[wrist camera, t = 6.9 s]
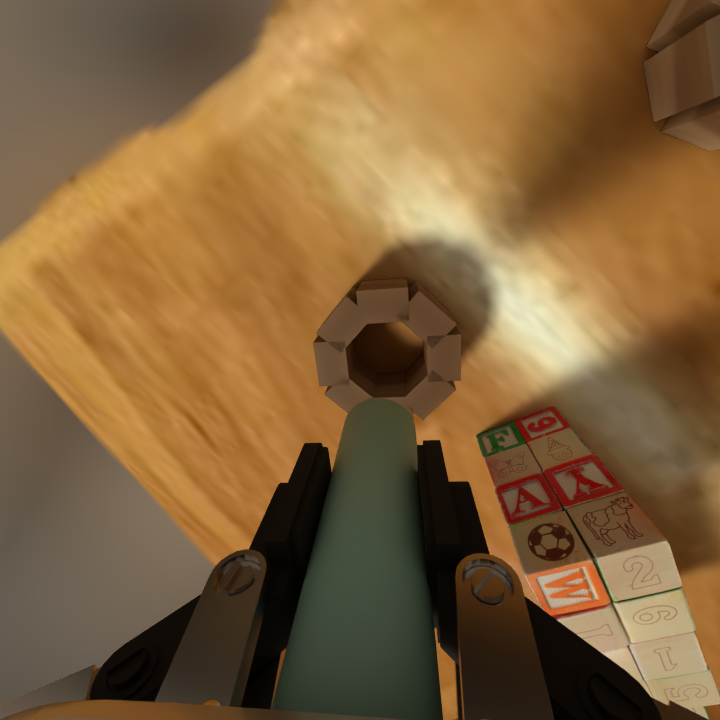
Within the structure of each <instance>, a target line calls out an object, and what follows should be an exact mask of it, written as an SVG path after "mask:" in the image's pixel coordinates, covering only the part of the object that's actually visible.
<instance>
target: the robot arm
mask: <svg viewBox="0 0 720 720" xmlns="http://www.w3.org/2000/svg"><path fill="white" fill-rule="evenodd" d="M417 461H418V479H419V490H420V501H421V513H422V524H423V535H424V547H425V558H426V569H427V581H428V584H429V587H430V590H431V599H432V610H433V620H434V628H437V636H438V643H440V646H441V648H442V649H443V650H444V651H445V652H446V653H447V654H448V655H449V656H450V657H451V658H452V659H453V660H454V661H455V683H456V703H457V720H709V719H707V718H705V717H703V716H701V715H699V714H697V713H695V712H693V711H691V710H689V709H687V708H685V707H683V706H681V705H679V704H677V703H675V702H673V701H671V700H669V703H668V705H666V704H664V703H662V702H660V701H658V700H656V699H654V698H652V697H651V696H650V695H649V694H648V693H647V691H646V690H645V689H644V688H643V686H642V685H641V684H640V683H639V682H638V681H637V680H636V679H635V678H634V677H632V676H631V675H630V674H629V673H628V672H627V671H626V670H624V669H623V668H622V667H620V666H619V665H617V664H616V663H615V662H613V661H612V660H611V659H609V658H608V657H607V656H605V655H604V654H602V653H601V652H600V651H598V650H597V649H596V648H594V647H593V646H592V645H590V644H589V643H587V642H586V641H585V640H583V639H582V638H581V637H579V636H578V635H577V634H575V633H574V632H573V631H571V630H570V629H568V628H567V627H566V626H564V625H563V624H562V623H560V622H559V621H558V620H556V619H555V618H553V617H552V616H551V615H549V614H548V613H547V612H545V611H544V610H543V609H541V608H540V607H539V606H537V605H536V604H534V603H533V602H532V601H530V600H529V599H528V598H526V597H525V596H524V593H523V589H522V585H521V582H520V580H519V577H518V575H517V574H516V572H515V571H514V570H513V568H512V567H511V566H510V565H508V564H507V563H506V562H505V561H503V560H502V559H500V558H498V557H495V556H493V555H490V554H489V551H488V547H487V544H486V540H485V537H484V533H483V530H482V526H481V523H480V519H479V516H478V512H477V508H476V505H475V501H474V498H473V494H472V491H471V487H470V484H469V482H448V477H447V472H446V467H445V462H444V457H443V452H442V447H441V442H440V440H429V441H423V445H417ZM331 474H332V472H331V466H330V459H329V452H328V448H327V447H323V446H322V443H305V444H304V446H303V448H302V450H301V453H300V455H299V458H298V460H297V462H296V465H295V467H294V470H293V472H292V474H291V477H290V479H289V482H288V483H280V484H279V485H278V487H277V488H276V491H275V493H274V495H273V497H272V499H271V502H270V504H269V506H268V508H267V510H266V513H265V515H264V517H263V519H262V522H261V524H260V526H259V528H258V530H257V533H256V535H255V537H254V539H253V541H252V544H251V546H250V548H249V549H245V550H240V551H236V552H234V553H232V554H230V555H228V556H227V557H225V558H224V559H222V560H221V561H220V562H219V563H218V564H217V565H216V566H215V567H214V569H213V570H212V572H211V574H210V576H209V578H208V580H207V582H206V585H205V587H204V589H203V591H202V594H201V595H199V596H198V597H196V598H195V599H193V600H192V601H190V602H189V603H187V604H186V605H184V606H182V607H181V608H180V609H178V610H176V611H175V612H173V613H172V614H170V615H169V616H167V617H166V618H164V619H163V620H161V621H159V622H158V623H156V624H155V625H153V626H152V627H150V628H149V629H147V630H146V631H144V632H143V633H141V634H140V635H138V636H137V637H135V638H134V639H132V640H130V641H129V642H127V643H126V644H125V645H123V646H122V647H121V648H119V649H118V650H117V651H116V652H114V653H113V654H112V655H111V657H110V658H109V659H108V660H107V661H106V662H105V663H104V664H103V666H102V667H100V668H98V669H97V667H96V666H95V664H94V665H91V666H89V667H87V668H85V669H82V670H80V671H78V672H75V673H73V674H70V675H68V676H66V677H63V678H61V679H59V680H56V681H54V682H52V683H49V684H47V685H45V686H43V687H40V688H38V689H35V690H33V691H31V692H28V693H26V694H24V695H21V696H19V697H17V698H14V699H12V700H10V701H7V702H5V703H3V704H0V720H404V719H391V718H378V717H365V716H352V715H338V714H325V713H312V712H298V711H285V710H271V706H272V703H273V699H274V695H275V691H276V687H277V683H278V679H279V675H280V672H281V668H282V664H283V660H284V656H285V652H286V648H287V644H288V641H289V637H290V633H291V629H292V625H293V621H294V617H295V613H296V610H297V606H298V602H299V598H300V594H301V590H302V586H303V582H304V579H305V575H306V571H307V567H308V563H309V559H310V555H311V552H312V548H313V544H314V540H315V536H316V532H317V528H318V524H319V521H320V517H321V513H322V509H323V505H324V501H325V497H326V493H327V490H328V486H329V482H330V478H331Z"/></svg>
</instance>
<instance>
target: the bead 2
mask: <svg viewBox="0 0 720 720" xmlns="http://www.w3.org/2000/svg"><path fill="white" fill-rule="evenodd" d="M646 47H647V48H649V49H652V50H654V51H657V52H659V53H657V54H656V55H654V56H653V57H651V58H650V59H648V60H647V61H645V62H644V63H643V66H644V71H645V77H646V82H647V88H648V94H649V99H650V105H651V110H652V116H653V121H654V122H656V121H659V120H661V119H664V118H666V117H669V116H670V117H669V119H668V120H667V122H666V124H665V126H664V127H663V129H662V131H661V132H663V133H665V134H668V135H670V136H673V137H675V138H678V139H680V140H683V141H685V142H688V143H690V144H693V145H695V146H698V147H700V148H703V149H705V150H708V151H713V150H717V149H720V0H671V1H670V3H669V5H668V7H667V8H666V10H665V12H664V14H663V16H662V18H661V20H660V22H659V24H658V25H657V27H656V29H655V31H654V33H653V35H652V37H651V39H650V41H649V42H648V44H647V46H646Z"/></svg>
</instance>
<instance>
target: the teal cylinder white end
mask: <svg viewBox="0 0 720 720" xmlns="http://www.w3.org/2000/svg"><path fill="white" fill-rule="evenodd" d="M271 710H285V711H298V712H312V713H325V714H338V715H352V716H365V717H378V718H391V719H404V720H443V715H442V704H441V694H440V683H439V673H438V662H437V652H436V641H435V631H434V620H433V610H432V599H431V590H430V587H429V584H428V581H427V569H426V558H425V547H424V535H423V524H422V513H421V501H420V490H419V479H418V461H417V442H416V431H415V424H414V421H413V418H412V416H411V415H410V413H409V412H408V411H407V410H406V409H405V408H404V407H403V406H401V405H400V404H398V403H396V402H394V401H392V400H388V399H382V398H375V399H369V400H366V401H363V402H361V403H359V404H357V405H356V406H355V407H354V408H352V410H351V411H350V412H349V413H348V415H347V417H346V420H345V424H344V428H343V431H342V435H341V439H340V443H339V447H338V451H337V455H336V459H335V462H334V466H333V470H332V474H331V478H330V482H329V486H328V490H327V493H326V497H325V501H324V505H323V509H322V513H321V517H320V521H319V524H318V528H317V532H316V536H315V540H314V544H313V548H312V552H311V555H310V559H309V563H308V567H307V571H306V575H305V579H304V582H303V586H302V590H301V594H300V598H299V602H298V606H297V610H296V613H295V617H294V621H293V625H292V629H291V633H290V637H289V641H288V644H287V648H286V652H285V656H284V660H283V664H282V668H281V672H280V675H279V679H278V683H277V687H276V691H275V695H274V699H273V703H272V706H271Z"/></svg>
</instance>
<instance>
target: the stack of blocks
mask: <svg viewBox="0 0 720 720" xmlns="http://www.w3.org/2000/svg"><path fill="white" fill-rule="evenodd" d="M476 437H477V441H478V444H479V447H480V450H481V453H482V456H483V459H484V461H485V463H486V465H487V467H488V469H489V472H490V475H491V478H492V480H493V483H494V486H495V493H496V496H497V498H498V501H499V504H500V507H501V510H502V513H503V515H504V518H505V520H506V523H507V526H508V528H509V530H510V533H511V536H512V539H513V542H514V546H515V549H516V552H517V555H518V558H519V561H520V564H521V567H522V570H523V572H524V575H525V577H526V579H527V581H528V583H529V585H530V587H531V589H532V591H533V592H534V594H535V596H536V598H537V600H538V602H539V604H540V606H541V608H542V609H543V610H544V611H545V612H547V613H548V614H549V615H551V616H552V617H553V618H555V619H556V620H558V621H559V622H560V623H562V624H563V625H564V626H566V627H567V628H568V629H570V630H571V631H573V632H574V633H575V634H577V635H578V636H579V637H581V638H582V639H583V640H585V641H586V642H587V643H589V644H590V645H592V646H593V647H594V648H596V649H597V650H598V651H600V652H601V653H602V654H604V655H605V656H607V657H608V658H609V659H611V660H612V661H613V662H615V663H616V664H617V665H619V666H620V667H622V668H623V669H624V670H626V671H627V672H628V673H629V674H630V675H631V676H632V677H634V678H635V679H636V680H637V681H638V682H639V683H640V684H641V685H642V686H643V688H644V689H645V690H646V691H647V693H648V694H649V695H650V696H651V697H652V698H654V699H656V700H658V701H660V702H662V703H664V704H666V705H668V703H669V700H671V701H673V702H675V703H677V704H679V705H681V706H683V707H685V708H687V709H689V710H691V711H693V712H695V713H697V714H699V715H701V716H703V717H705V718H707V719H709V717H708V714H707V712H706V709H705V706H708V705H717V704H720V694H719V692H718V689H717V686H716V684H715V681H714V678H713V675H712V672H711V670H710V669H709V667H708V665H707V663H706V660H705V657H704V655H703V652H702V650H701V646H700V643H699V641H698V638H697V636H696V634H695V632H694V631H695V630H696V626H695V623H694V620H693V617H692V614H691V611H690V608H689V605H688V602H687V599H686V596H685V593H684V590H683V589H682V587H681V586H682V581H681V578H680V575H679V571H678V568H677V565H676V562H675V559H674V556H673V553H672V549H671V546H670V544H669V542H668V541H667V539H666V538H665V536H664V535H663V534H662V533H661V531H660V530H659V529H658V528H657V527H656V525H655V524H654V523H653V522H652V521H651V520H650V519H649V518H648V517H647V515H646V514H645V513H644V512H643V510H642V509H641V508H640V507H639V506H638V505H637V504H636V503H635V501H634V500H633V499H632V498H631V497H630V496H629V495H628V494H627V493H626V491H625V490H624V488H623V487H622V485H621V484H620V483H619V482H618V481H617V479H616V478H615V477H614V476H613V474H612V473H611V472H610V471H609V470H608V469H607V468H606V467H605V466H604V464H603V463H602V462H601V461H600V460H599V459H598V458H597V456H595V455H594V454H593V453H592V452H591V450H590V449H589V448H588V447H587V446H586V445H585V444H584V443H583V442H582V440H581V439H580V438H579V437H578V436H577V434H576V433H575V432H574V431H573V429H572V427H571V426H570V425H569V424H568V423H567V421H566V420H565V419H564V418H563V417H562V416H561V415H560V413H559V412H558V411H557V410H556V409H555V408H554V407H550V408H548V409H545V410H542V411H540V412H537V413H534V414H531V415H529V416H526V417H523V418H521V419H518V420H515V421H514V422H511V423H509V424H506V425H503V426H500V427H498V428H495V429H492V430H489V431H487V432H484V433H481V434H478V435H476ZM709 720H710V719H709Z"/></svg>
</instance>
